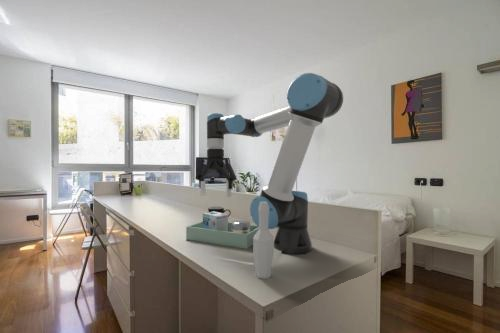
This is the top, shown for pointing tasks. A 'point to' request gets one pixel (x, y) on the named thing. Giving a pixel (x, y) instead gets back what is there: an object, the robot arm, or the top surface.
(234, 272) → the top surface
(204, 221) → the light bulb box
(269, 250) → the low poly bottle
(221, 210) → the coffee mug
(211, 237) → the box
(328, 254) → the top surface
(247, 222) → the tin can
